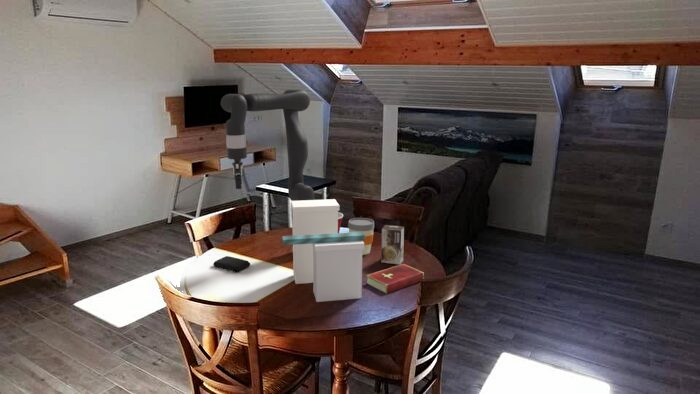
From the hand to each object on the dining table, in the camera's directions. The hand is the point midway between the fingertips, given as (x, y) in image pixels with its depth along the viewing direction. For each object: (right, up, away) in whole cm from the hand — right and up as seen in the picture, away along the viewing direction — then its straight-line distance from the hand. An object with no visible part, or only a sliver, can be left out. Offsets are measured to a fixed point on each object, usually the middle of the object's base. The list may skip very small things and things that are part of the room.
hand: (238, 186), depth 188 cm
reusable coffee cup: (+50, -31, +37) cm, 69 cm away
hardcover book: (+63, -40, +4) cm, 74 cm away
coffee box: (+64, -34, +25) cm, 76 cm away
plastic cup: (+36, -25, +57) cm, 72 cm away
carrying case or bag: (-7, -35, +16) cm, 39 cm away
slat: (+35, -20, -15) cm, 43 cm away
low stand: (+40, -42, -9) cm, 58 cm away
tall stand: (+30, -38, +6) cm, 49 cm away
